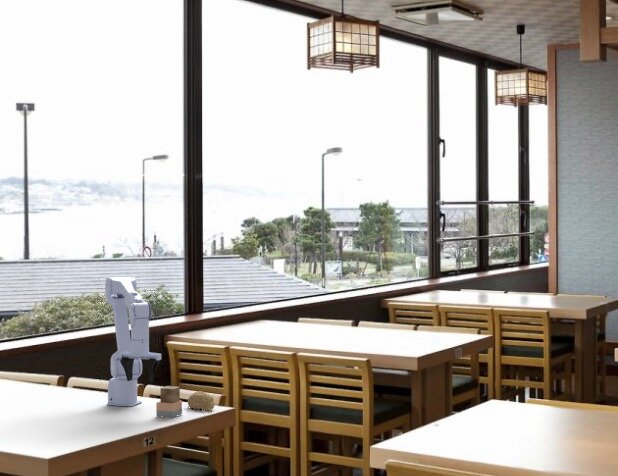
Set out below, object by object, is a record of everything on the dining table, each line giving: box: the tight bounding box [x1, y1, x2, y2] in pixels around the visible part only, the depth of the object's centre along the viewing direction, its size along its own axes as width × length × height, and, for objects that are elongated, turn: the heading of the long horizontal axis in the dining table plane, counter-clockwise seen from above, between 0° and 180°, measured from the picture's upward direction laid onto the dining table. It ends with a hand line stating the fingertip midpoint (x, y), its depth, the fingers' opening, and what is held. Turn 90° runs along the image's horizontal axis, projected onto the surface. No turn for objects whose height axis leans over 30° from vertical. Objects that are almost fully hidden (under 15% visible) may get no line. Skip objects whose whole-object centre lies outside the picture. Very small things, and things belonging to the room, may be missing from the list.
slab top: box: [155, 399, 183, 412], centre depth 306 cm, size 6×6×2 cm
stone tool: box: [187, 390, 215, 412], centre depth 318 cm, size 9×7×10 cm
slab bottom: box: [155, 407, 183, 418], centre depth 306 cm, size 6×6×2 cm
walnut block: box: [160, 385, 181, 403], centre depth 306 cm, size 4×4×4 cm
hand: (140, 381), depth 310 cm, fingers open, 7 cm apart
